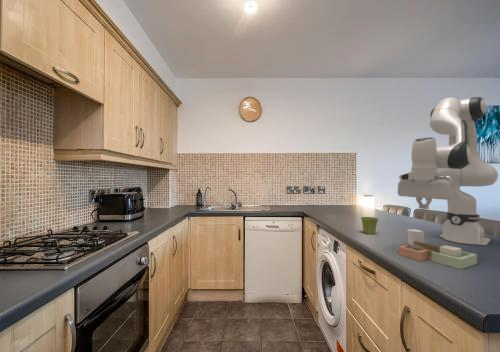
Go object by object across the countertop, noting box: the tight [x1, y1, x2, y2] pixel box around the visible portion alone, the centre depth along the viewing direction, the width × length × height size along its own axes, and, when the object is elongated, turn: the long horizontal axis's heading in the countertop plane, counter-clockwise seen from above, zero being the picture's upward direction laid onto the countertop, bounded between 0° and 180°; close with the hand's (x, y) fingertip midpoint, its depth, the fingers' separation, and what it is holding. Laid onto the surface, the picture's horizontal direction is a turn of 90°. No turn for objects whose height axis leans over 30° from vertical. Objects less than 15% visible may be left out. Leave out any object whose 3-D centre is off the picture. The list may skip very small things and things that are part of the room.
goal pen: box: [430, 250, 478, 270], centre depth 92 cm, size 12×9×4 cm
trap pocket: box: [397, 244, 428, 262], centre depth 97 cm, size 5×8×4 cm, turn 27°
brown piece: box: [400, 241, 441, 261], centre depth 101 cm, size 10×12×4 cm
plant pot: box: [360, 216, 379, 235], centre depth 139 cm, size 9×9×9 cm
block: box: [439, 244, 463, 258], centre depth 92 cm, size 5×5×6 cm
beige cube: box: [406, 228, 425, 247], centre depth 115 cm, size 7×7×7 cm
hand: (423, 208), depth 101 cm, fingers closed
